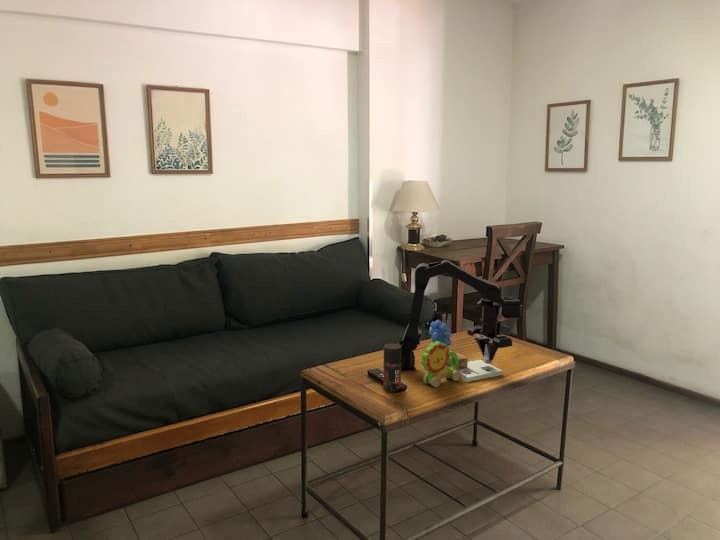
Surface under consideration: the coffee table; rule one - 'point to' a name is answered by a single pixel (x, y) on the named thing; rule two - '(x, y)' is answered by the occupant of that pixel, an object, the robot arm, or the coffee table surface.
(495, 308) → the robot arm
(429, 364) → the toy lion
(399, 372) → the deodorant
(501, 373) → the board
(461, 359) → the brown wooden block
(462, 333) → the coffee table surface
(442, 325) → the grapes
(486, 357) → the pin
